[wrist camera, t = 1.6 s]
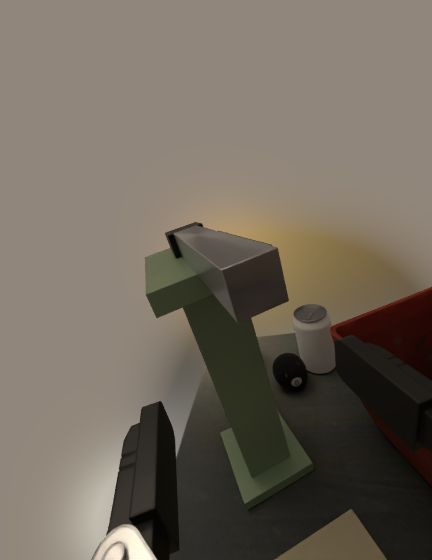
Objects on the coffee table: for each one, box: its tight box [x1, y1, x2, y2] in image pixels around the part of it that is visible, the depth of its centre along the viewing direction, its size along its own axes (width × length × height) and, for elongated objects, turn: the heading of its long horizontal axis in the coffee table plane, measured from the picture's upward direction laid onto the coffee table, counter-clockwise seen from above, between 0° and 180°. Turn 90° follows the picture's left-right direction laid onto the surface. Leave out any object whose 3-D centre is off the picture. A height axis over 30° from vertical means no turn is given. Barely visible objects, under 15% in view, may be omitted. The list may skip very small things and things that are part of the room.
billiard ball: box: [273, 353, 307, 389], centre depth 43 cm, size 6×6×6 cm
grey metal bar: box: [165, 222, 289, 323], centre depth 17 cm, size 18×4×2 cm, turn 17°
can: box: [293, 304, 336, 374], centre depth 44 cm, size 6×6×12 cm
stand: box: [145, 231, 314, 510], centre depth 29 cm, size 14×10×32 cm
